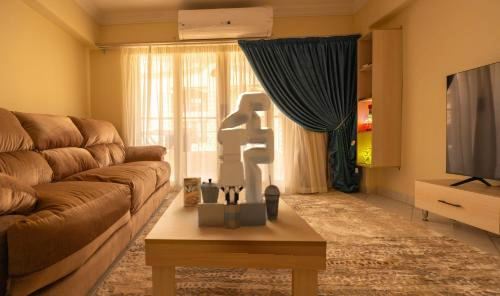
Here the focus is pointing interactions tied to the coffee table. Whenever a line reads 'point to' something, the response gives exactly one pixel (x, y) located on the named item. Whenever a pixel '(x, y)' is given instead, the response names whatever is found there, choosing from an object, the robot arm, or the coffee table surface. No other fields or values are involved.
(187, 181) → the candy box
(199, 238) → the coffee table surface
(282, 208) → the coffee table surface
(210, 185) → the coffeepot
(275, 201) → the beverage cup
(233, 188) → the steel pin
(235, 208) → the hinge
